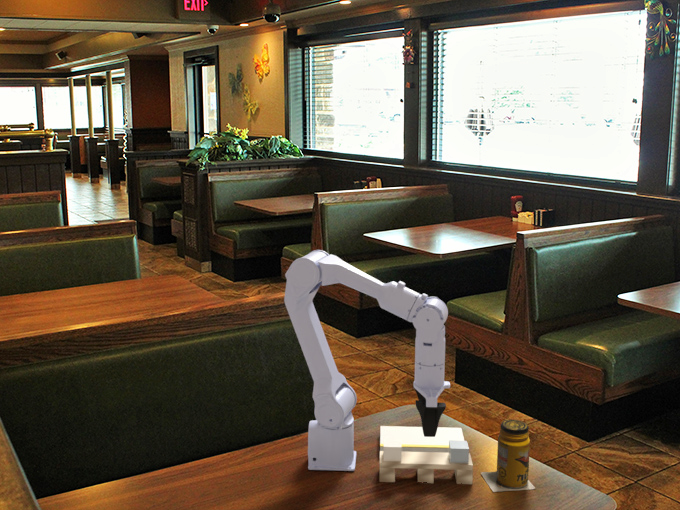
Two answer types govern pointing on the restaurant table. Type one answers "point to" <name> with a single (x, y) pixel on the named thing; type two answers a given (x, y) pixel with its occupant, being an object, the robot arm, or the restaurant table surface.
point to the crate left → (392, 450)
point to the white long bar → (426, 466)
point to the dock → (420, 438)
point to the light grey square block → (458, 451)
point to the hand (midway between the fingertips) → (428, 427)
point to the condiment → (511, 459)
